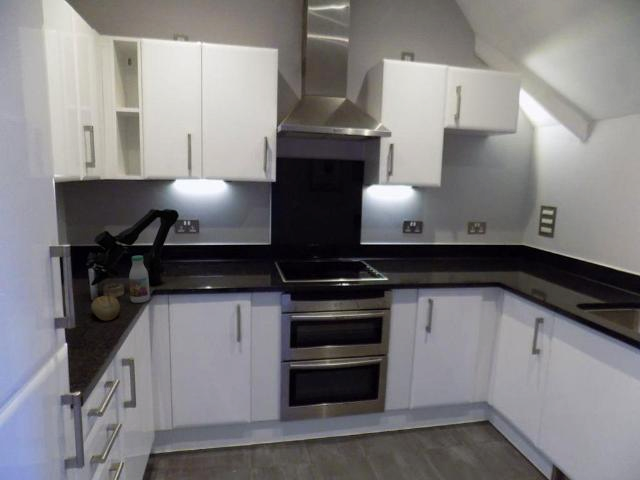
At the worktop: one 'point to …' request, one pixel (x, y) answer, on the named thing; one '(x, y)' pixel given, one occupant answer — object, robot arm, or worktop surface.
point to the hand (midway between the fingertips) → (90, 284)
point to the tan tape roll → (114, 290)
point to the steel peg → (94, 288)
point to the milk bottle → (139, 281)
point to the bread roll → (105, 307)
